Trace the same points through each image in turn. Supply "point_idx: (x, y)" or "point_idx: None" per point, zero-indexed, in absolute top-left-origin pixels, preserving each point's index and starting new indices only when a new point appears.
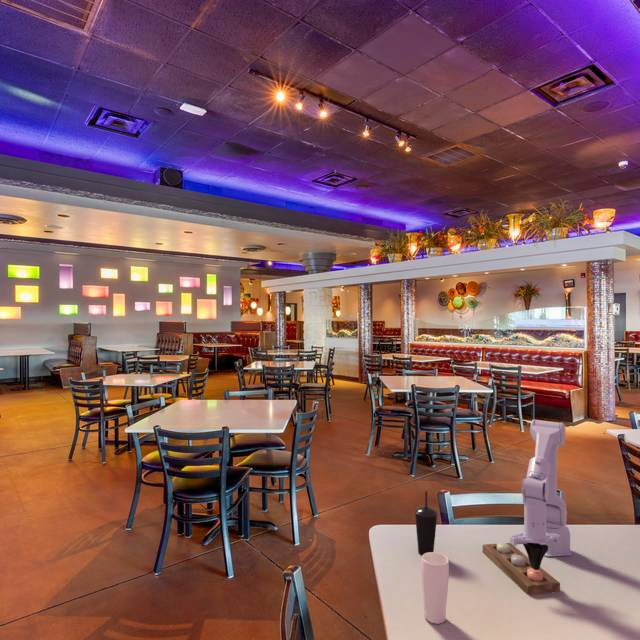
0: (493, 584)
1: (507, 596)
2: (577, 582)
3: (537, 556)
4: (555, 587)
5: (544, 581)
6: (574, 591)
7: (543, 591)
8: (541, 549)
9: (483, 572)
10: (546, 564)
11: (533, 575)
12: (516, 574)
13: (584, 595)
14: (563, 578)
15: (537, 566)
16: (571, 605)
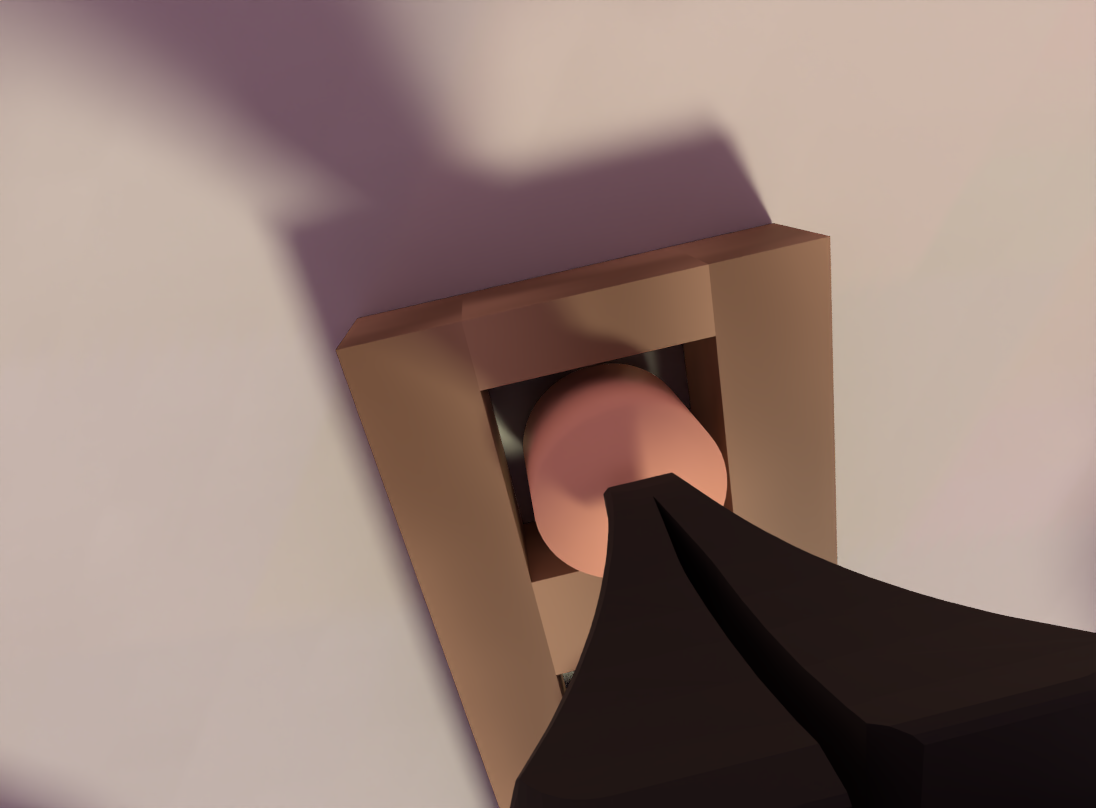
0: (1016, 392)
1: (1014, 173)
2: (71, 535)
3: (764, 595)
4: (413, 318)
5: (545, 365)
6: (168, 350)
7: (577, 273)
8: (805, 744)
9: (982, 577)
10: (308, 785)
11: (690, 415)
12: (823, 482)
13: (60, 273)
14: (215, 587)
15: (659, 499)
16: (321, 12)
